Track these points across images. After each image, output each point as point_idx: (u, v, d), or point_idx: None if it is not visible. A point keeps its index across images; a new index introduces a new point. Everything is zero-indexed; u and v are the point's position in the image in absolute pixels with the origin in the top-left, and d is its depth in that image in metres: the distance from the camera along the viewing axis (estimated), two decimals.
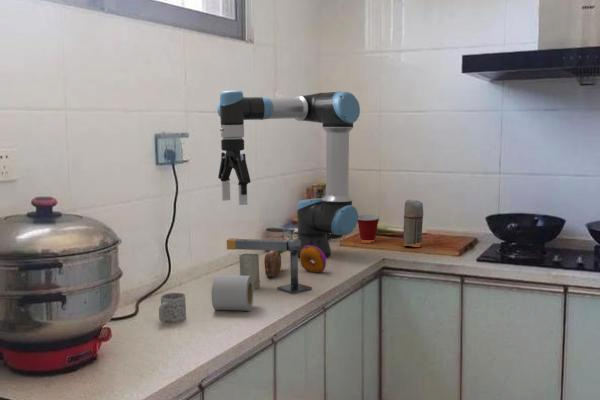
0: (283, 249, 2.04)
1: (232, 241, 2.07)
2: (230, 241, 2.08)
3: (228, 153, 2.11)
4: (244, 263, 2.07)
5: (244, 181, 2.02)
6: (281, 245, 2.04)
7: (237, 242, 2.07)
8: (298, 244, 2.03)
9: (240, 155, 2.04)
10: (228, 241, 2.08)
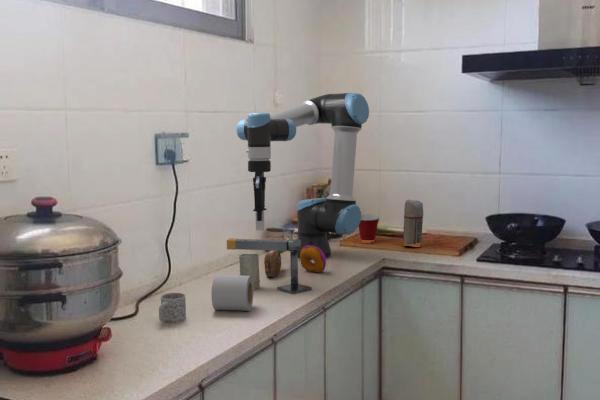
0: (283, 249, 2.04)
1: (232, 241, 2.07)
2: (230, 241, 2.08)
3: None
4: (244, 263, 2.07)
5: (255, 208, 2.10)
6: (281, 245, 2.04)
7: (237, 242, 2.07)
8: (298, 244, 2.03)
9: (255, 184, 2.06)
10: (228, 241, 2.08)
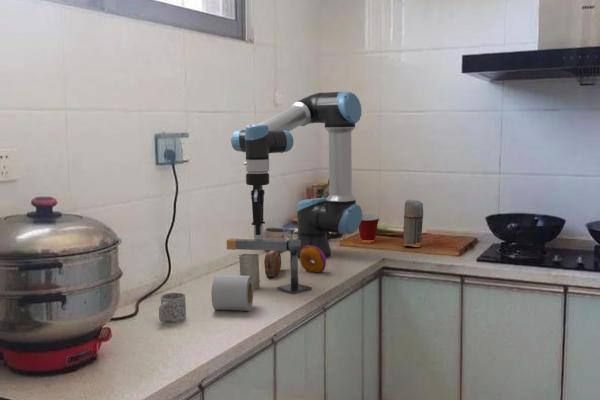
0: (283, 249, 2.04)
1: (232, 241, 2.07)
2: (230, 241, 2.07)
3: None
4: (244, 263, 2.07)
5: (254, 222, 2.06)
6: (281, 245, 2.04)
7: (237, 242, 2.07)
8: (298, 244, 2.03)
9: (253, 198, 2.02)
10: (228, 241, 2.08)
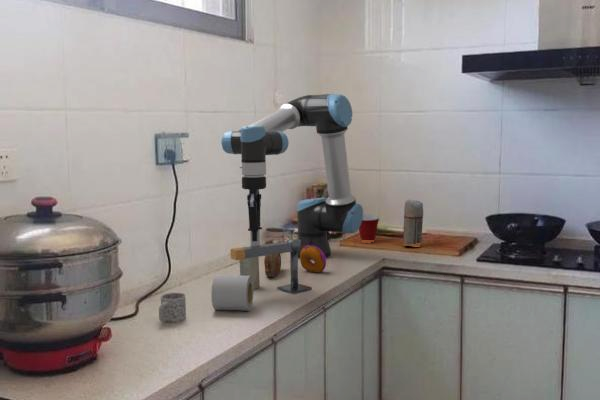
0: (288, 250, 2.02)
1: (241, 250, 1.92)
2: (239, 251, 1.92)
3: None
4: (244, 263, 2.07)
5: (250, 228, 1.96)
6: (287, 246, 2.02)
7: (246, 251, 1.93)
8: (300, 243, 2.05)
9: (250, 203, 1.93)
10: (237, 251, 1.92)
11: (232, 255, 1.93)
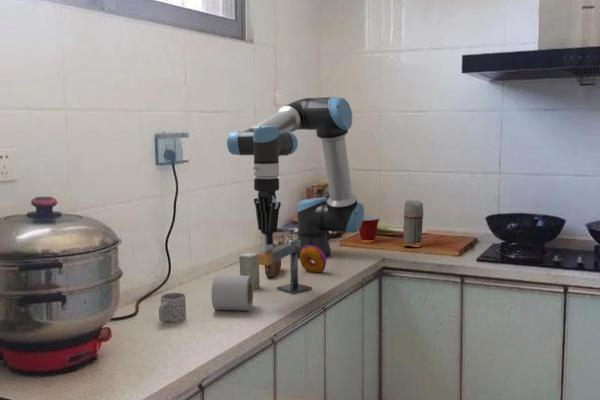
0: (294, 250, 2.02)
1: (270, 254, 1.86)
2: (269, 255, 1.86)
3: None
4: (244, 263, 2.07)
5: (270, 231, 1.91)
6: (293, 247, 2.01)
7: (272, 254, 1.88)
8: None
9: (275, 205, 1.88)
10: (268, 256, 1.85)
11: (261, 260, 1.85)
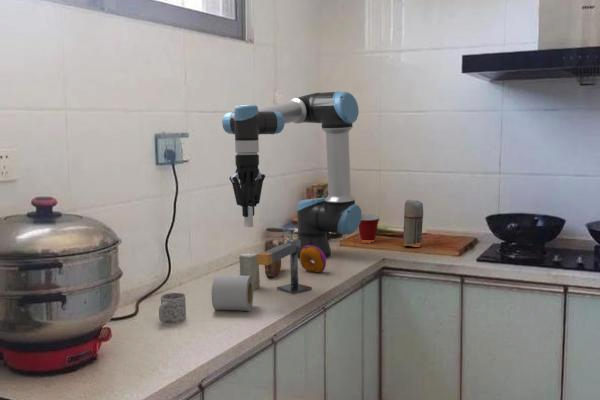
0: (294, 250, 2.02)
1: (270, 254, 1.86)
2: (269, 255, 1.86)
3: None
4: (244, 263, 2.07)
5: (237, 203, 2.05)
6: (293, 247, 2.01)
7: (272, 254, 1.88)
8: None
9: (231, 179, 2.02)
10: (268, 256, 1.85)
11: (261, 260, 1.85)
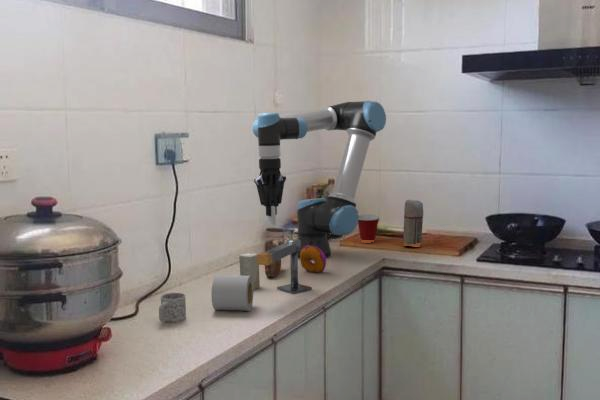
0: (294, 250, 2.02)
1: (270, 254, 1.86)
2: (269, 255, 1.86)
3: None
4: (244, 263, 2.07)
5: (261, 203, 2.22)
6: (293, 247, 2.01)
7: (272, 254, 1.88)
8: None
9: (255, 181, 2.19)
10: (268, 256, 1.85)
11: (261, 260, 1.85)
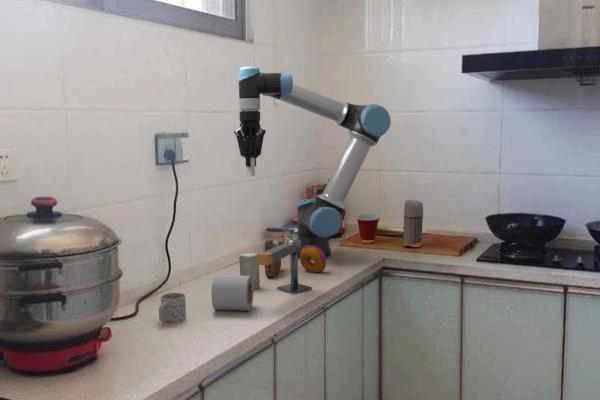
0: (294, 250, 2.02)
1: (270, 254, 1.86)
2: (269, 255, 1.86)
3: None
4: (244, 263, 2.07)
5: (241, 154, 2.31)
6: (293, 247, 2.01)
7: (272, 254, 1.88)
8: None
9: (235, 132, 2.28)
10: (268, 256, 1.85)
11: (261, 260, 1.85)
